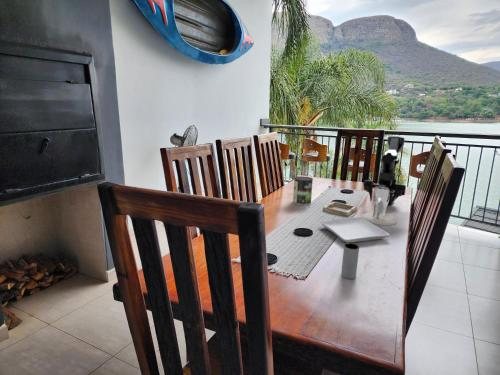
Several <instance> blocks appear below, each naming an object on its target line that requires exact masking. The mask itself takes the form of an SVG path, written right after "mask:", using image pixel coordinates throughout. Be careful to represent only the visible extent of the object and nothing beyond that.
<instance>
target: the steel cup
mask: <svg viewBox="0 0 500 375" xmlns="http://www.w3.org/2000/svg"><path fill="white" fill-rule="evenodd" d="M389 196H390V188H388V187H383V186H377V187H375V188H374V191H373V197H372V201H373V212H372V213H373V215H372V217H373V218H374V219H377V220H385V219H386V216H385V214H386V211H387V208H388V206H389V205H388V202H389Z"/></svg>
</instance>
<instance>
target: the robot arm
mask: <svg viewBox="0 0 500 375" xmlns="http://www.w3.org/2000/svg"><path fill="white" fill-rule="evenodd" d="M386 143H387V146H388V150H386V151H384V154H383V155H382V156H381V158H380V164H381V171H380V172H379V176H378V180H377V183H374V180H367V179H365V180H364V181H363V190H364V191H366V192H367V193H368V195H369V201H370V202H372V201H373V195H374V191H373V189H375V187H377V186H383V187H388V188H390V196H389V202H388V205H387V206H393V204H395V201H396V200H397V199H398V198H399V197H402V196H406V189H407V186H406V185H405V184H402V183H401V184H400V183H397V179H396V168H397V165H398V164H400V161H401V160H400V157H399V153H400V152H401V151H402V150H403V146H404V145H405V137H401V135H391V136H389V137H387V142H386Z"/></svg>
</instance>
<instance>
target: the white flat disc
mask: <svg viewBox="0 0 500 375" xmlns="http://www.w3.org/2000/svg"><path fill="white" fill-rule="evenodd" d="M372 215H373V212H366V213H363V214H361V218H363V219H365V220H367V221H368V222H370V223H372V224H374V225H379V226H393V225H396V224H397V223H398V219H397V218H396V217H394V216H392V215H389V214H386V213H385V216H386V219H385V220H377V219H374V218H373V217H372Z"/></svg>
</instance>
